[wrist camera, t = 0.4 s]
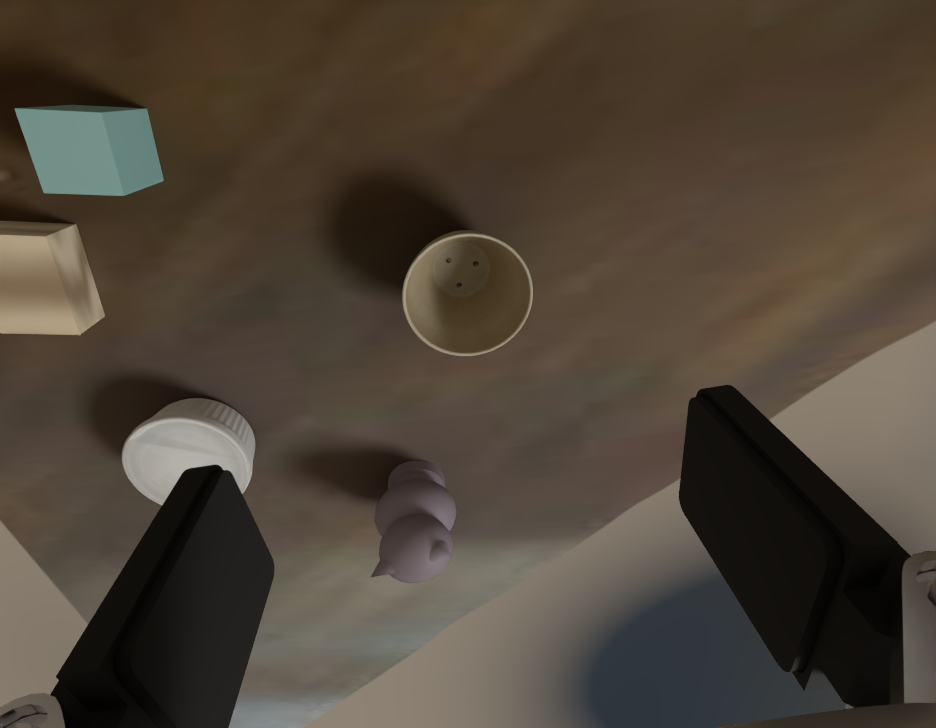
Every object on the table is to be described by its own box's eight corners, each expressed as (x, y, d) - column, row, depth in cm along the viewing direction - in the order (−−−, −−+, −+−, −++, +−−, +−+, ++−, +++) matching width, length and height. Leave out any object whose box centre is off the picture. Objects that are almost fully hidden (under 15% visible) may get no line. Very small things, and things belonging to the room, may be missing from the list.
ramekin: (235, 375, 47) (215, 406, 43) (283, 462, 53) (269, 498, 48) (124, 402, 48) (93, 435, 43) (183, 485, 53) (160, 523, 49)
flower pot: (411, 324, 46) (409, 362, 40) (398, 215, 41) (394, 238, 35) (517, 315, 47) (532, 351, 41) (517, 206, 42) (534, 228, 36)
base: (-32, 218, 39) (-76, 231, 36) (78, 223, 40) (45, 236, 36) (7, 312, 43) (-29, 332, 39) (106, 314, 44) (79, 334, 40)
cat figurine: (394, 517, 58) (388, 611, 48) (366, 469, 54) (353, 561, 44) (463, 495, 57) (472, 587, 47) (439, 445, 54) (444, 533, 43)
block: (73, 104, 36) (14, 108, 31) (147, 108, 36) (101, 112, 31) (95, 178, 38) (43, 193, 33) (164, 180, 39) (124, 195, 33)
